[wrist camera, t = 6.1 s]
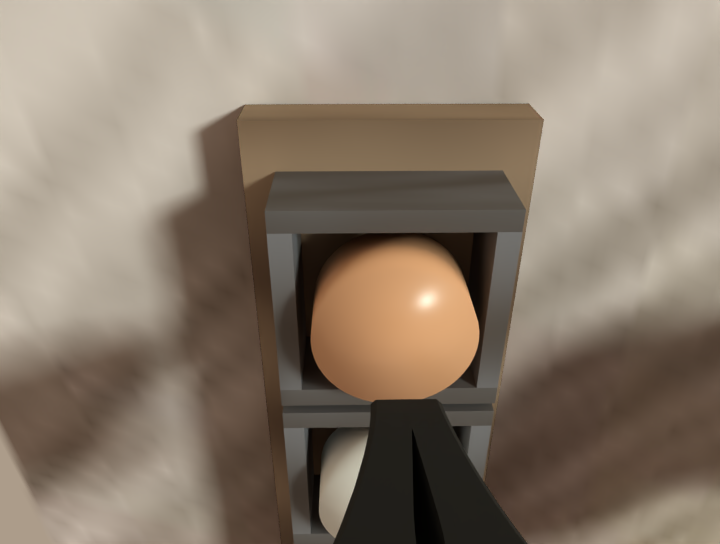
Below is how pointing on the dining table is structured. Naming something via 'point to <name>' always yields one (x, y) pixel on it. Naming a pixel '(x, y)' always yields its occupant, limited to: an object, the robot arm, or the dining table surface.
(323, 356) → the terracotta button
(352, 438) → the cream button
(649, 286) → the dining table surface
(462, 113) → the button panel
